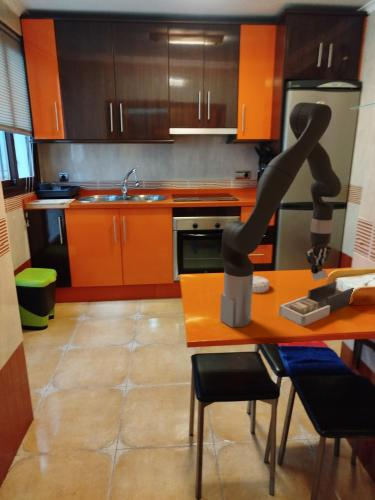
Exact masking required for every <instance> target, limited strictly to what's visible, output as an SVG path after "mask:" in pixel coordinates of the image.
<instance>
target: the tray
mask: <svg viewBox="0 0 375 500" xmlns="http://www.w3.org/2000/svg"><path fill="white" fill-rule="evenodd" d="M306 299H308V295H307V296H306V295H305V296H302V297H300V298H297V299H294V300H292V301H289V302H286V303H283V304H280V305H279V308H278V316H281V317H283V318H284V319H287V320H289V321H291V322H293V323H294V324H297V325H298V326H301V327H306V326H307V325H309V324H310V325H311V324H313V323H314V322H317V321H319V320H322V319H325V318H326V317H329V316H330V313H329V312H330V306H329V305H327V306H325V307H322V308H320V309H317V310H315V311H312V312H310V313H307V314H305V315H302V314H300V313H298V312H295V311H293V310H291V309H290V306H291V304H294V303H297V302H300V303H301V301H304V300H306Z"/></svg>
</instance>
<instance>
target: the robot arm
mask: <svg viewBox="0 0 375 500" xmlns="http://www.w3.org/2000/svg"><path fill="white" fill-rule="evenodd" d="M332 115H333V113H332V108H331V107H330V106H329V105H328V104H324V103H318V102H317V103H316V102H299V103H296V104H295V105H294V106H293V107H292V108H291V111H290V114H289V118H288V119H289V122H288V123H289V126H290V129H291V131H292V134H293V136H294V137H295V139H296V141H295V142H294V143H292V145H290V146H289V147H288V148H286V149H285V150H283V151H282V152H281V153H279V154H278V155H277V156H275V157H274V158H272V159H271V161H269V163H268V164H267V166H266V167H265V169H264V170H263V173H262V174H261V176H260V178H259V180H258V182H257V186H256V197H255V203H254V207H253V208H252V211H251V213H250V214H249V216H248V218H247V219H246V221H245V222H243V221H240V220H232V221H230V222H228V223H226V226H225V227H223V231H222V233H221V234H222V235H221V262H222V263H223V264H222V265H223V267H224V268H223V271H224V273H223V293H221V295H220V317H219V318H220V319H219V320H220V321H221V322H222V323H224V324H225V325H227V326H229V327H230V328H231V329H232V328H233V329H234V328H242V327H246V326H248V325H250V324H251V320H252V302H253V301H252V300H253V292H252V287H253V276H254V268H255V267H254V264H253V262H252V260H251V259H250V258H249V255H251V254H253V253H254V252H255V251H256V250H257V249H258V247H259V246H260V245H261V244H262V243H261V242H262V241H263V238H264V236H265V234H266V232H267V230H268V227H269V226H270V223H271V220H272V219H273V217H274V215H275V214H276V212H277V210H278V208H279V206H280V204H281V202H282V200H283V199H284V197H285V196H286V195H287V193H288V192H289V189H290V188H291V186H292V184H293V183H294V181H295V179H296V177H297V175H298V173H299V171H300V170H301V168H302V167H303V165H304V163H305V162H306V161H307V165H308V167H309V171H310V174H311V177H312V179H313V180H312V181H311V183H310V195H311V199H312V200H311V201H312V205H313V210H312V219H311V224H310V233H309V242H310V243H311V245H310V249H309V250H306V251H305V256H306V260H307V263H308V264H309V265H311V264H312V267H311V268H310V273H311V274H317V268H318V261H319V262H320V265H321V267H322V268H323V266H324V265H323V264H324V263H325V262H327V261H328V258H329V255H330V253H331V251H332V247H331V246H328V244H330V243H331V236H332V229H333V216H334V215H333V213H334V206H333V204H331V203H329V202H326V201H324V200H323V198H332V199H333V198H336V197H337V196H339V195H340V194H341V192H342V182H341V180H340V178H339V176H338V175H337V174H336V173H335V170H334V169H333V167H332V162H331V158H330V155H329V153H328V152H327V150H326V149H325V148H324V147H323V146H322V144H321V143H320V142H319V141H320V140H321V139H322V137H323V135H324V134H325V133H326V131H327V129H328V128H329V126H330V124H331V123H330V122H331V120H332ZM315 259H316V261H315Z"/></svg>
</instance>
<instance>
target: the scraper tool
mask: <svg viewBox="0 0 375 500" xmlns="http://www.w3.org/2000/svg"><path fill="white" fill-rule="evenodd" d="M315 261H316V259H315ZM310 266H311V267H312V264H310ZM311 275H312V279H313V281H314V282H317V281H320V280H324V279H327V278H328V277H329V276H328V273H327V271H326V269H324V270H323V266H322V267H321V265H320V262H319V261H318V268H317V274H313V273H311Z"/></svg>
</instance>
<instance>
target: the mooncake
mask: <svg viewBox="0 0 375 500" xmlns="http://www.w3.org/2000/svg"><path fill="white" fill-rule="evenodd" d="M269 288H270V281H269V279H267V278H266V277H263V276H259V275H258V276H257V275H253V287H252V294H254V293H259V294H260V293H264V292H267V291H269V290H270V289H269Z"/></svg>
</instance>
